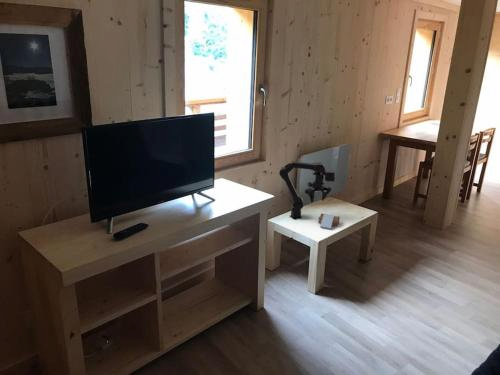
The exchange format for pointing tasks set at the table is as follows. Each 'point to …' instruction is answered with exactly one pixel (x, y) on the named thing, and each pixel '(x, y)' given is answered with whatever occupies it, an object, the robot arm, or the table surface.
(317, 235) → the table surface
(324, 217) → the cover plate
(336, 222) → the slotted case
